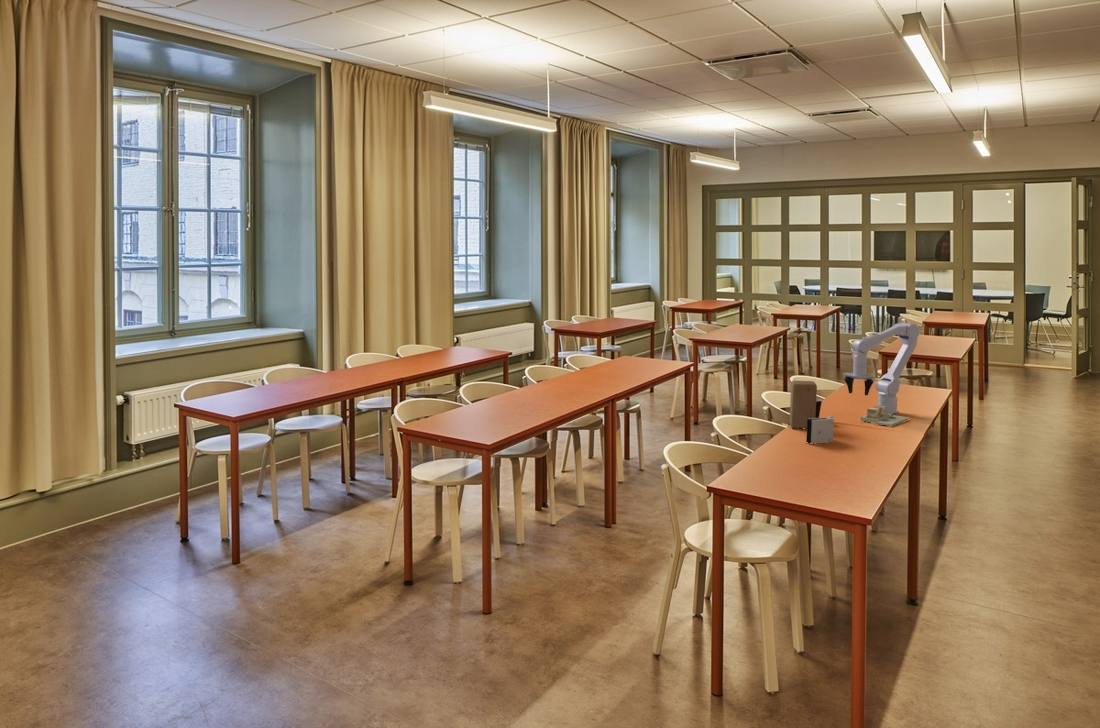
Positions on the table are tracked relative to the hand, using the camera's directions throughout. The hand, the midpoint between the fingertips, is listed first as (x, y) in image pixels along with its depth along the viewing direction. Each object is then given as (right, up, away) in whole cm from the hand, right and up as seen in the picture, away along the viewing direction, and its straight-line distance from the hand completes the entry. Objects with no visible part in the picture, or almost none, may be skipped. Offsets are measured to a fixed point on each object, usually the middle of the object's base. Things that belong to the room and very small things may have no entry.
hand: (858, 394), depth 384 cm
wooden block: (-34, -14, -24) cm, 44 cm away
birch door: (+4, -12, -10) cm, 16 cm away
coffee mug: (-26, -12, -11) cm, 31 cm away
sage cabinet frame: (+7, -12, -13) cm, 19 cm away
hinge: (-34, -18, -51) cm, 64 cm away
